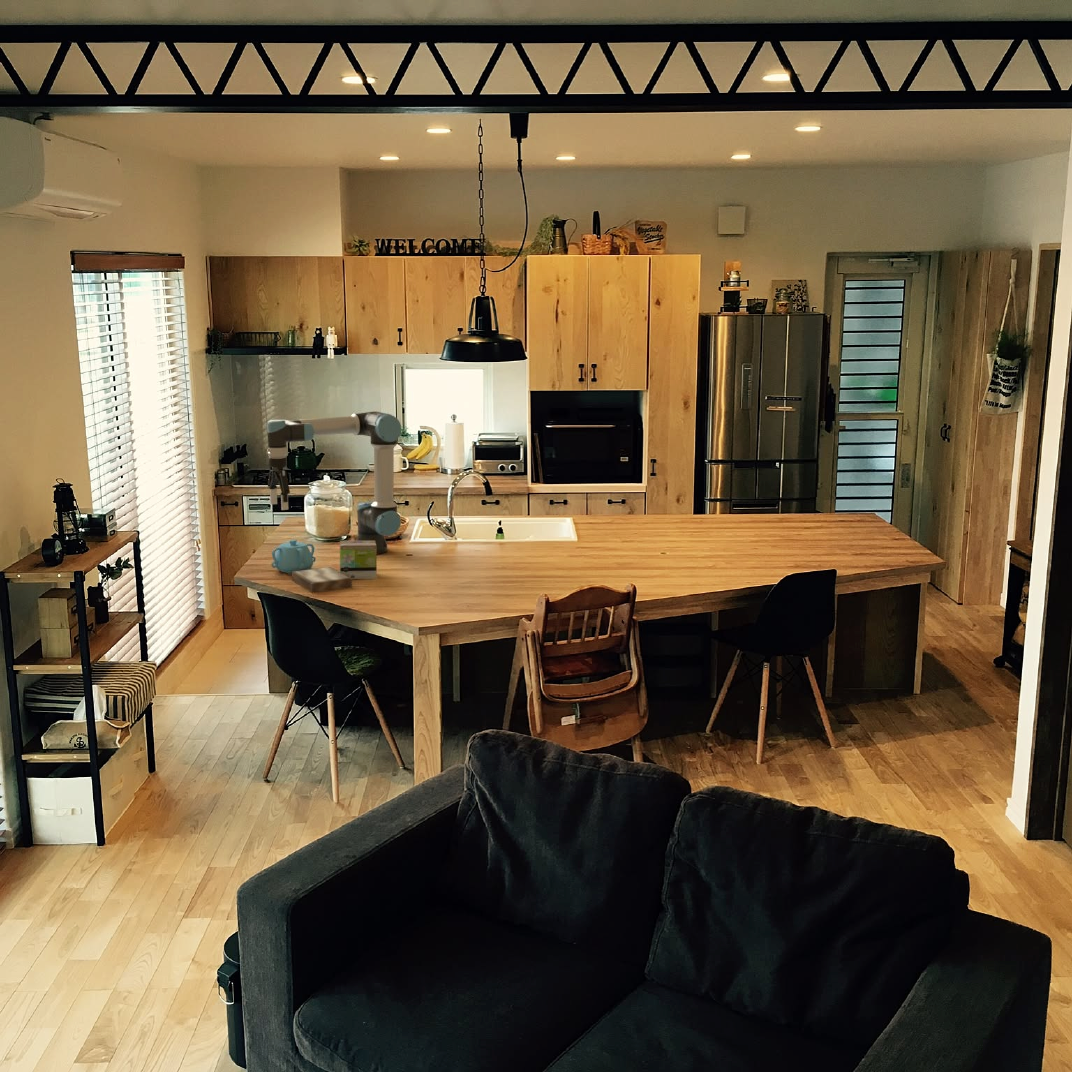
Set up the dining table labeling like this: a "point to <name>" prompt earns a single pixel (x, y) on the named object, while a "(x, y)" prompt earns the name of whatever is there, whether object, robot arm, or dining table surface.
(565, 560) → the dining table surface
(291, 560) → the decorative pot
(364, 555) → the tea box
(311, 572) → the tray
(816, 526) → the dining table surface
